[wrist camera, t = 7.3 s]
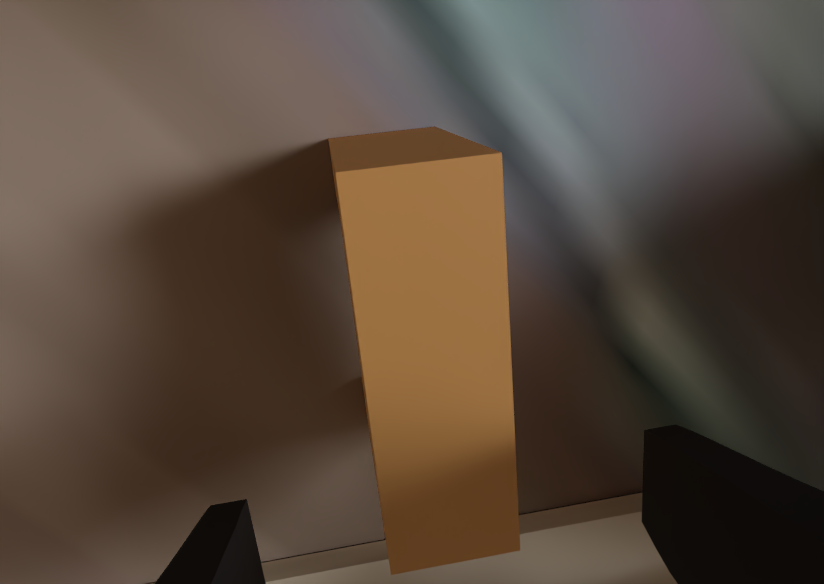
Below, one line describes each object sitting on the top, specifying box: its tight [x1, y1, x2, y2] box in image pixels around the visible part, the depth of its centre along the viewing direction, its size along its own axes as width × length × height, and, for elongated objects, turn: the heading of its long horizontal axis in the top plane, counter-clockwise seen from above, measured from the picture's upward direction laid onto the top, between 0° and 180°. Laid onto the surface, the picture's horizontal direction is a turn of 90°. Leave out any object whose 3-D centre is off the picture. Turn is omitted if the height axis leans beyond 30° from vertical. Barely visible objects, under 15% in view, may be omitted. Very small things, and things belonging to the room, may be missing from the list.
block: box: [328, 127, 520, 575], centre depth 13 cm, size 8×3×6 cm, turn 6°
